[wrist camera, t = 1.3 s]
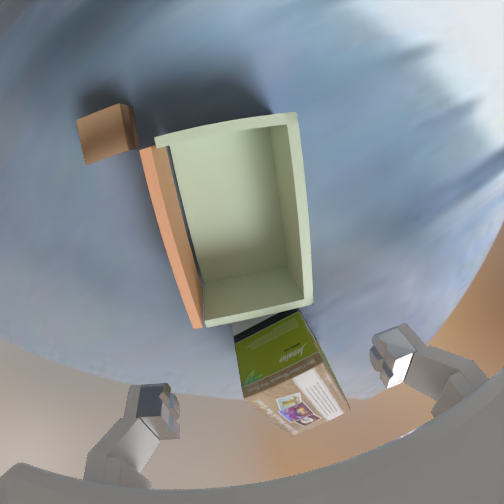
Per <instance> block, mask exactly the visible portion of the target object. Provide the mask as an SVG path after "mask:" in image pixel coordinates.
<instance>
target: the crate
mask: <svg viewBox="0 0 504 504" xmlns="http://www.w3.org/2000/svg"><path fill="white" fill-rule="evenodd" d="M154 139H155V143H156V148H157V149H158V148H161V147H165V146H169V145H170V150H171V154H172V159H173V164H174V168H175V173H176V177H177V181H178V186H179V190H180V194H181V198H182V203H183V207H184V211H185V215H186V219H187V223H188V227H189V230H190V234H191V238H192V242H193V246H194V249H195V253H196V257H197V260H198V264H199V267H200V271H201V274H202V278H203V281H204V316H205V323H206V326H207V327H212V326H217V325H222V324H227V323H232V322H237V321H242V320H247V319H252V318H256V317H261V316H265V315H270V314H274V313H279V312H283V311H287V310H291V309H295V308H299V307H303V306H307V305H311V304H313V284H312V264H311V247H310V232H309V219H308V207H307V196H306V185H305V175H304V166H303V157H302V149H301V141H300V133H299V126H298V118H297V112H291V113H281V114H272V115H264V116H256V117H249V118H243V119H236V120H230V121H225V122H219V123H214V124H209V125H204V126H199V127H195V128H190V129H186V130H181V131H177V132H173V133H169V134H165V135H161V136H158V137H154Z"/></svg>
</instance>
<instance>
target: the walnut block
mask: <svg viewBox="0 0 504 504" xmlns="http://www.w3.org/2000/svg"><path fill="white" fill-rule="evenodd" d="M76 121H77V127H78V132H79V137H80V142H81V146H82V151H83V155H84V159H85V163H86V165H88V164H91V163H93V162H96V161H99V160H102V159H105V158H108V157H111V156H114V155H117V154H120V153H123V152H126V151H129V150H132V149H135V148H138V147H141V146H140V142H139V137H138V132H137V127H136V122H135V117H134V112H133V106H129V105H125V104H120V103H119V104H116V105H113V106H110V107H108V108H105V109H102V110H100V111H97V112H95V113H92V114H90V115H87V116H85V117H83V118H80V119H78V120H76Z"/></svg>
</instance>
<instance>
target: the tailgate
mask: <svg viewBox="0 0 504 504" xmlns="http://www.w3.org/2000/svg"><path fill="white" fill-rule="evenodd" d="M139 151H140V155H141V160H142V164H143V168H144V172H145V177H146V181H147V185H148V188H149V192H150V196H151V200H152V204H153V207H154V211H155V214H156V218H157V222H158V225H159V229H160V232H161V236H162V239H163V242H164V245H165V249H166V252H167V255H168V258H169V261H170V264H171V267H172V270H173V273H174V276H175V279H176V282H177V285H178V288H179V291H180V293H181V296H182V299H183V302H184V305H185V307H186V310H187V313H188V316H189V318H190V321H191V323H192V326H193V329H197V328H203V310H202V286H201V282H200V279H199V276H198V272H197V269H196V265H195V262H194V258H193V255H192V251H191V247H190V244H189V240H188V236H187V233H186V229H185V225H184V221H183V217H182V213H181V209H180V205H179V201H178V197H177V193H176V189H175V185H174V180H173V176H172V172H171V167H170V163H169V158H168V154H167V149H166V146H165V147H161V148H158V149H157V148H156V145H153V146H150V147H147V148H144V149H141V150H139Z"/></svg>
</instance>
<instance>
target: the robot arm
mask: <svg viewBox="0 0 504 504" xmlns="http://www.w3.org/2000/svg"><path fill="white" fill-rule="evenodd" d="M372 343H373V347H372V348H371V349H370V361H371V364H372V366H373V368H374V369H375V370H376V371H378V372H380V379H381V381H382V382H383V384H384V385H385V387H386V389H387V388H390V387H392V386H395V385H397V384H399V383H402V382H404V383H406V384H407V385H409V386H411V387H413V388H414V389H416V390H418V391H420V392H422V393H424V394H425V395H427V396H429V397H431V398H433V399H434V400H436V403H435V405H434V406H433V408H432V410H431V413H432V415H433V416H434V419H432V420H430V421H429V422H427V423H425V424H423V425H421V426H420V427H418V428H416V429H414V430H413V431H410V432H409V433H407V434H405V435H403V436H401V437H399V438H397V439H395V440H393V441H390V442H388V443H386V444H384V445H382V446H379V447H377V448H375V449H373V450H370V451H368V452H365V453H363V454H360V455H357V456H355V457H352V458H350V459H347V460H344V461H341V462H338V463H335V464H332V465H329V466H326V467H323V468H319V469H316V470H312V471H309V472H305V473H301V474H297V475H293V476H289V477H285V478H280V479H275V480H270V481H265V482H259V483H253V484H246V485H239V486H230V487H220V488H207V489H151V481H150V480H149V479H148V478H146V477H145V476H144V475H142V474H140V472H141V470H142V469H143V467H144V466H145V464H146V463H147V461H148V460H149V458H150V456H151V455H152V453H153V452H154V450H155V448H156V447H157V445H158V444H159V442H160V440H169V439H179V437H180V425H179V423H178V422H177V421H176V420H177V419H178V418H179V416H180V408H179V402H178V400H177V398H176V396H175V395H174V394H172V393H170V392H171V388H170V386H169V385H168V383H160V384H145V385H131V387H130V388H129V392H128V396H127V401H126V407H125V412H124V417H123V418H120V419H119V420H118V421H117V422H116V423H115V424H114V426H113V427H112V428H111V429H110V430H109V431H108V432H107V433H106V434H105V435H104V436H103V438H102V439H101V440H100V441H99V442H98V443H97V444H96V445H95V446H94V447H93V448H92V449H91V451H90V452H89V453H88V455H87V461H86V467H85V472H84V478H83V480H82V479H77V478H73V477H68V476H64V475H60V474H57V473H53V472H50V471H46V470H43V469H40V468H37V467H34V466H31V465H29V464H26V463H17V464H16V465H14V466H13V467H11V468H10V469H9V470H8V471H7V472H6V473H5V474H3V475H2V476H1V477H0V504H504V367H503V368H502V369H501V370H500V371H499V372H498V373H497V374H495V375H494V376H493V377H492V378H491V379H489V378H488V377H487V376H486V375H485V374H484V372H483V371H482V370H481V369H480V368H479V366H478V365H477V364H476V363H475V362H474V361H473V360H470V359H467V358H464V357H461V356H459V355H456V354H453V353H450V352H447V351H444V350H442V349H439V348H436V347H433V346H430V345H429V346H426V345H425V344H424V342H423V341H422V340H421V339H420V338H419V337H418V336H417V334H416V333H415V332H414V331H413V330H412V329H411V328H410V327H409V325H408V324H406V323H404V324H401V325H399V326H396V327H393V328H390V329H388V330H385V331H383V332H380V333H378V334H375V335H374V336H373V337H372Z"/></svg>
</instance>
